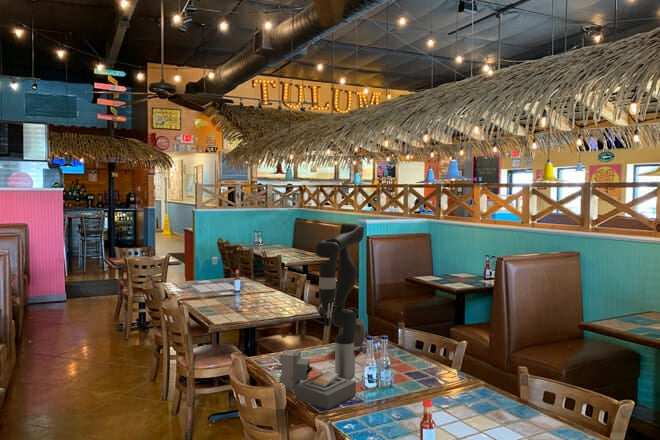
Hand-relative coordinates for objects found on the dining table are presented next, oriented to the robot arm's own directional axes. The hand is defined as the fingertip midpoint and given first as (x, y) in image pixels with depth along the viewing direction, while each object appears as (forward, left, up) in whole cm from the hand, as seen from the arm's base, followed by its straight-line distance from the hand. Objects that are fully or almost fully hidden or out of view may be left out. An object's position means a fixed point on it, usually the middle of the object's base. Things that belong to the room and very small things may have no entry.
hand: (327, 325), depth 223 cm
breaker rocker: (+2, +1, -23) cm, 23 cm away
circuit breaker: (-1, -19, -31) cm, 37 cm away
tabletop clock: (-61, -30, -31) cm, 75 cm away
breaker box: (+2, +1, -31) cm, 31 cm away
